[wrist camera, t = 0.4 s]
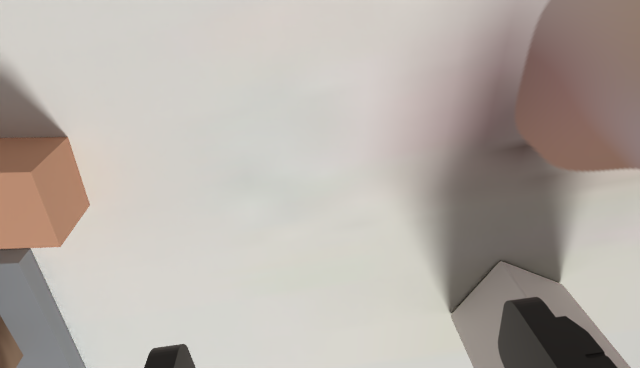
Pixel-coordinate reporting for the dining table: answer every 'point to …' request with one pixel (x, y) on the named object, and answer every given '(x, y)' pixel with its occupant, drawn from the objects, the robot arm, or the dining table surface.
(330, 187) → the dining table surface
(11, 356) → the walnut brick
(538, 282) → the milk carton
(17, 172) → the terracotta brick
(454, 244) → the dining table surface
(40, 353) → the baseplate
